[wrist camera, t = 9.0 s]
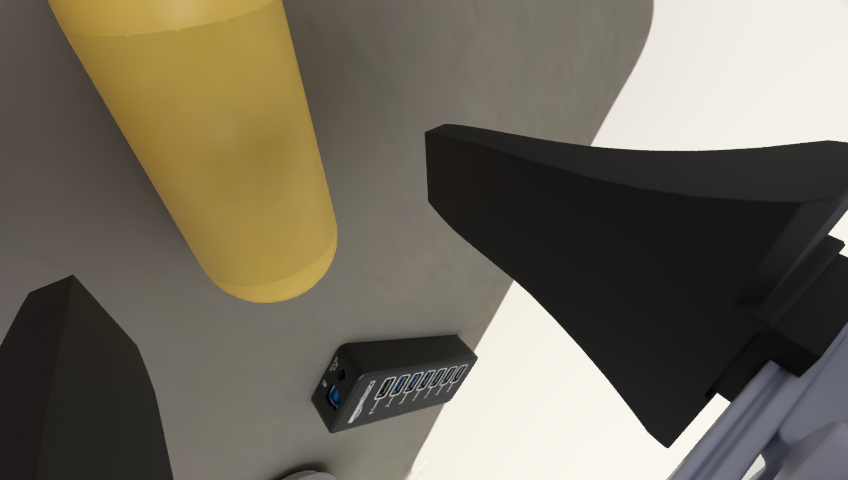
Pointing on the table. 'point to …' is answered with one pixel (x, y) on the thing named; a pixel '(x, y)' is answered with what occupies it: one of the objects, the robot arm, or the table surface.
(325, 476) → the can
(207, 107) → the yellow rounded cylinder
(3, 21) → the table surface
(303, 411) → the table surface
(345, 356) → the multiport hub
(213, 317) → the table surface
